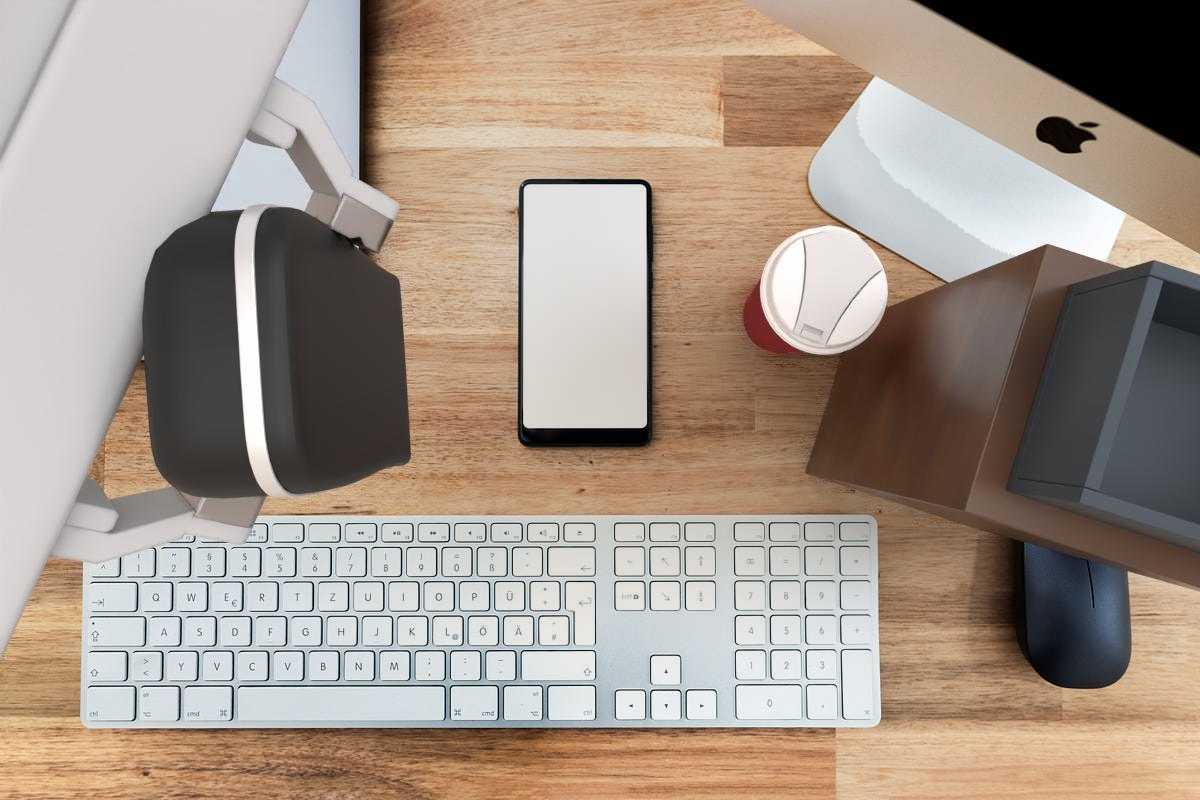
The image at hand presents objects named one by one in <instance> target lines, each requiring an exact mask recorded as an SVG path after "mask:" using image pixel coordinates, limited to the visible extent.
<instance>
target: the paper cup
mask: <svg viewBox="0 0 1200 800" xmlns="http://www.w3.org/2000/svg"><path fill="white" fill-rule="evenodd" d="M888 296H889V295H888V280H887V275H886V272H885V269H884V267H883V265H882V263H881V260H880V259H879V257H878V255H877V254H876V253H875V252H874V250H873V249H872V248H871V246H869V245H868V244H867V243H866V242H865V241H864V240H863V239H862V238H861V237H860V235H858V234H857V233H855V232H853V231H851V230H849V229H848V228H847V229H846V228H845V227H841V226H836V225H828V224H827V225H823V226H819V227H814V228H808V229H805V230H802V231H799V232H797V233H795V234H793V235H791V236H789V237H787V238H786V239H785V240H784V241H781V243H780V244H779V245H778V246H777V247H776V248H775V249H774V251H773V252H772V253H771V255H770V256H769V257H768V259H767V261H766V263H765V265H764V268H763V271H762V275H761V276H760V278H759V279H758V281H757V283H756V284H755V285H754V286H753V288H752V290H751V291H750V292H749V294H748V296H747V298H746V300H745V303H744V306H743V309H742V322H743V326H744V330H745V332H746V334H747V336H748V337H749V339H750V340H751V341H752V342H753V343H754V344H755V345H756V346H757V347H759V348H760V349H762V350H764V351H766V352H768V353H773V354H798V353H809V354H813V355H814V354H815V355H835V354H840V353H843V351H846V350H849V349H851V348H853V347H855V346H857V345H859V344H860V343H861V342H863V341H864V340H865V339H867V338H868V337H869V335H870V334H871V333H872V332H873V331H874V330H875V328H876V327H877V326H878V324H879V322H880V320H881V318H882V316H883V314H884V311H885V308H887V303H888Z"/></svg>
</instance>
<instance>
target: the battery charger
mask: <svg viewBox="0 0 1200 800" xmlns="http://www.w3.org/2000/svg"><path fill="white" fill-rule="evenodd" d="M304 211H305V210H303V209H300V208H296V207H291V206H290V207H289V206H281V205H278V204H274V203H261V204H252V205H248V206H247V207H246V208H244V209H230V210H229V209H228V210H216V211H215V210H213V211H211V212H210V214H208V215H206V216H202V217H200V218H199V219H197V220H195V221H193V222H190V223H188V224H186V225H184V226H182V227H180V228H178V229H176V230H175V231H174V232H173V233H172V234H171V235H170V236H169V237H168V238H167V239H166V240H165V241H164V242H163V243H162V244H161V245H160V246H159V247H158V248H157V249H156V250H155V252H154V255H153V258H152V261H151V264H150V267H149V270H148V273H147V276H146V280H145V290H144V302H143V315H142V328H143V349H144V355H143V364H144V377H145V378H144V379H145V393H146V406H147V420H148V433H149V440H150V450H151V453H152V458H153V461H154V465H155V467H156V469H157V471H158V472H159V474H160V476H161V477H162V478H163V479H164V480H165V481H166V482H167V483H168V484H169V485H170V486H171V487H172V486H173V487H174V488H176V489H177V490H178V491H181V492H183V493H186V494H188V495H191V496H195V497H203V498H220V499H228V498H243V497H258V496H266V497H271V498H275V499H282V500H284V499H297V498H304V497H310V496H315V495H319V494H323V493H324V494H325V493H328V492H331V491H334V490H337V489H339V488H343V487H347V486H349V485H352V484H356V483H357V482H360V481H362V480H364V479H367V478H368V477H369V478H370V477H371V476H374V475H375V474H377V473H379V472H381V471H386V470H392V469H393V468H394V467H401V466H406V465H407V464H409V462H410V460H411V458H412V444H411V443H412V442H411V429H410V428H411V426H410V425H411V424H410V413H409V411H410V410H409V408H410V407H409V394H408V392H409V391H408V378H407V376H408V375H407V363H406V362H407V359H406V348H405V347H406V346H405V345H406V344H405V333H404V332H405V329H404V318H403V317H404V316H403V303H402V302H403V301H402V289H401V282H400V278H399V277H398V276H397V275H395V274H393V273H391V272H390V271H388V270H386V269H385V268H383V267H382V266H380V265H379V264H377V263H376V262H374V261H373V260H372V258H370V257H369V256H368V255H367V254H365V253H364V252H363V251H362V250H361V248H359V247H358V246H356V245H354V244H352V243H351V242H349V241H348V240H347V239H346V238H345V237H344V236H341V235H339V234H338V233H337V232H335V231H334V230H332V229H331V228H330V227H329V226H328V225H326V224H325V223H323V222H322V221H320V220H318V219H317V218H315V217H313V216H311V215H310V214H308V213H306V212H304Z"/></svg>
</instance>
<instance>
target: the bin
mask: <svg viewBox="0 0 1200 800" xmlns="http://www.w3.org/2000/svg"><path fill="white" fill-rule="evenodd" d="M1006 491H1008V492H1011V493H1014V494H1017V495H1020V496H1023V497H1026V498H1030V499H1033V500H1036V501H1039V502H1042V503H1045V504H1048V505H1051V506H1054V507H1057V508H1061V509H1064V510H1067V511H1070V512H1073V513H1076V514H1079V515H1082V516H1085V517H1089V518H1092V519H1095V520H1098V521H1101V522H1104V523H1107V524H1110V525H1113V526H1116V527H1120V528H1123V529H1126V530H1129V531H1132V532H1135V533H1138V534H1141V535H1144V536H1147V537H1151V538H1154V539H1157V540H1160V541H1163V542H1166V543H1169V544H1172V545H1175V546H1178V547H1182V548H1185V549H1188V550H1191V551H1194V552H1197V553H1200V274H1199V273H1196V272H1193V271H1190V270H1187V269H1185V268H1180V267H1178V266H1174V265H1171V264H1169V263H1165V262H1161V261H1159V260H1156V259H1152V260H1150V261H1149V260H1148V261H1145V262H1142V263H1139V264H1136V265H1131V266H1129V267H1125V269H1121V270H1118V271H1114V272H1111V273H1108V274H1104V275H1101V276H1097V277H1094V278H1090V279H1087V280H1084V281H1080V282H1078V283H1073V284H1070V285H1069V288H1068V291H1067V294H1066V298H1065V301H1064V304H1063V307H1062V311H1061V314H1060V317H1059V320H1058V323H1057V327H1056V330H1055V333H1054V336H1053V340H1052V343H1051V346H1050V349H1049V353H1048V356H1047V359H1046V362H1045V365H1044V369H1043V372H1042V375H1041V378H1040V382H1039V385H1038V388H1037V391H1036V395H1035V398H1034V401H1033V404H1032V407H1031V411H1030V414H1029V417H1028V420H1027V424H1026V427H1025V430H1024V433H1023V437H1022V440H1021V443H1020V446H1019V449H1018V453H1017V456H1016V459H1015V462H1014V466H1013V469H1012V472H1011V475H1010V479H1009V482H1008V485H1007V488H1006Z"/></svg>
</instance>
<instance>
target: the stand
mask: <svg viewBox="0 0 1200 800" xmlns="http://www.w3.org/2000/svg"><path fill="white" fill-rule="evenodd" d="M1125 268H1126V267H1125ZM1125 268H1124V267H1122V266H1118V265H1116V264H1113V263H1109V262H1107V261H1103V260H1100V259H1097V258H1093V257H1091V256H1087V255H1084V254H1082V253H1078V252H1075V251H1071V250H1069V249H1065V248H1063V247H1060V246H1056V245H1053V244H1050V243H1045V244H1043V245H1040V246H1038V247H1036V248H1033V249H1030V250H1028V251H1025V252H1022V253H1021V254H1017V255H1015V256H1013V257H1009V258H1008V259H1005V260H1003V261H1000V262H998V263H995V264H992V265H990V266H988V267H985V268H981V269H980V270H977V271H974V272H972V273H970V274H968V275H965V276H962V277H960V278H957V279H954V280H953V281H950V282H947V283H945V284H942V285H940V286H938V287H935V288H932V289H930V290H927V291H925V292H922V293H920V294H917V295H914V296H912V297H909V298H907V299H905V300H902V301H900V302H897V303H895V304H894V303H893V304H892V305H889V306H886V307H885V311H884V314H883V316H882V318H881V320H880V322H879V324H878V326H877V327H876V328H875V330H874V331H873V332H872V333H871V334H870V335H869V337H868V338H867V339H865V340H864V341H863V342H861V343H860V344H859V345H857V346H855V347H853V348H851V349H849V350H846V351H843V352H842V355H841V357H840V361H839V364H838V368H837V371H836V374H835V377H834V380H833V383H832V386H831V389H830V393H829V395H828V396H829V397H828V400H827V403H826V405H825V409H824V412H823V415H822V418H821V421H820V425H819V428H818V430H817V434H816V437H815V441H814V443H813V446H812V450H811V453H810V456H809V459H808V462H807V465H806V469H805V474H807V475H809V476H813V477H816V478H819V479H822V480H825V481H828V482H831V483H834V484H837V485H840V486H844V487H846V488H850V489H853V490H856V491H859V492H863V493H864V494H865V493H866V494H868V495H871V496H875V497H878V498H881V499H884V500H887V501H889V502H890V501H891V502H893V503H896V504H899V505H903V506H906V507H908V508H912V509H914V510H918V511H920V512H924V513H927V514H931V515H934V516H937V517H939V518H943V519H946V520H949V521H952V522H954V523H958V524H961V525H965V526H967V527H970V528H973V529H976V530H980V531H984V532H986V533H990V534H994V535H997V536H1001V537H1004V538H1008V539H1012V540H1015V541H1018V542H1021V543H1024V544H1029V545H1033V546H1036V547H1040V548H1043V549H1047V550H1051V551H1054V552H1058V553H1060V554H1061V553H1062V554H1065V555H1068V556H1072V557H1075V558H1079V559H1082V560H1086V561H1090V562H1094V563H1097V564H1100V565H1104V566H1108V567H1110V568H1114V569H1117V570H1121V571H1126V572H1129V573H1133V574H1134V575H1135V574H1136V575H1139V576H1142V577H1147V578H1150V579H1154V580H1157V581H1160V582H1165V583H1168V584H1171V585H1175V586H1178V587H1182V588H1186V589H1189V590H1192V591H1196V592H1199V593H1200V553H1197V552H1194V551H1191V550H1188V549H1185V548H1182V547H1178V546H1175V545H1172V544H1169V543H1166V542H1163V541H1160V540H1157V539H1154V538H1151V537H1147V536H1144V535H1141V534H1138V533H1135V532H1132V531H1129V530H1126V529H1123V528H1120V527H1116V526H1113V525H1110V524H1107V523H1104V522H1101V521H1098V520H1095V519H1092V518H1089V517H1085V516H1082V515H1079V514H1076V513H1073V512H1070V511H1067V510H1064V509H1061V508H1057V507H1054V506H1051V505H1048V504H1045V503H1042V502H1039V501H1036V500H1033V499H1030V498H1026V497H1023V496H1020V495H1017V494H1014V493H1011V492H1008V491H1006V488H1007V485H1008V482H1009V479H1010V475H1011V472H1012V469H1013V466H1014V462H1015V459H1016V456H1017V453H1018V449H1019V446H1020V443H1021V440H1022V437H1023V433H1024V430H1025V427H1026V424H1027V420H1028V417H1029V414H1030V411H1031V407H1032V404H1033V401H1034V398H1035V395H1036V391H1037V388H1038V385H1039V382H1040V378H1041V375H1042V372H1043V369H1044V365H1045V362H1046V359H1047V356H1048V353H1049V349H1050V346H1051V343H1052V340H1053V336H1054V333H1055V330H1056V327H1057V323H1058V320H1059V317H1060V314H1061V311H1062V307H1063V304H1064V301H1065V298H1066V294H1067V291H1068V288H1069V285H1070V284H1073V283H1078V282H1080V281H1084V280H1087V279H1090V278H1094V277H1097V276H1101V275H1104V274H1108V273H1111V272H1114V271H1118V270H1121V269H1125Z"/></svg>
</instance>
